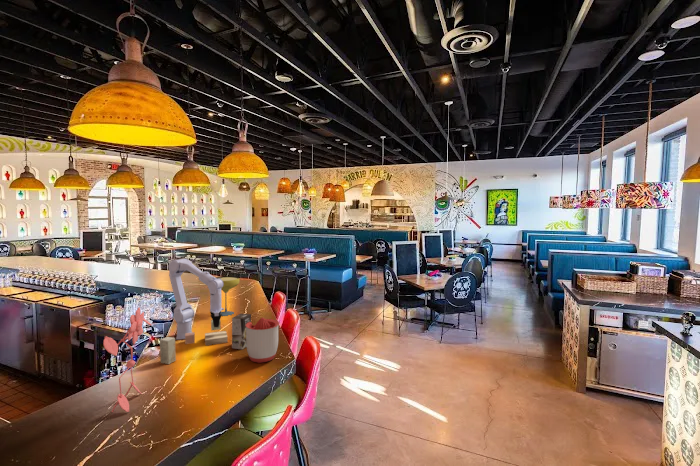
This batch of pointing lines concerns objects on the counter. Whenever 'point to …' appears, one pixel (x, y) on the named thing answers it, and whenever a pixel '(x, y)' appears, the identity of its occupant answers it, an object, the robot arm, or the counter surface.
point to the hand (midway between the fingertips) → (216, 325)
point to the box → (167, 350)
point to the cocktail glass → (228, 284)
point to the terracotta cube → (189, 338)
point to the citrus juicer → (262, 340)
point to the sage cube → (215, 327)
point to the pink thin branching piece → (113, 349)
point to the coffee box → (239, 330)
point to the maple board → (216, 338)
